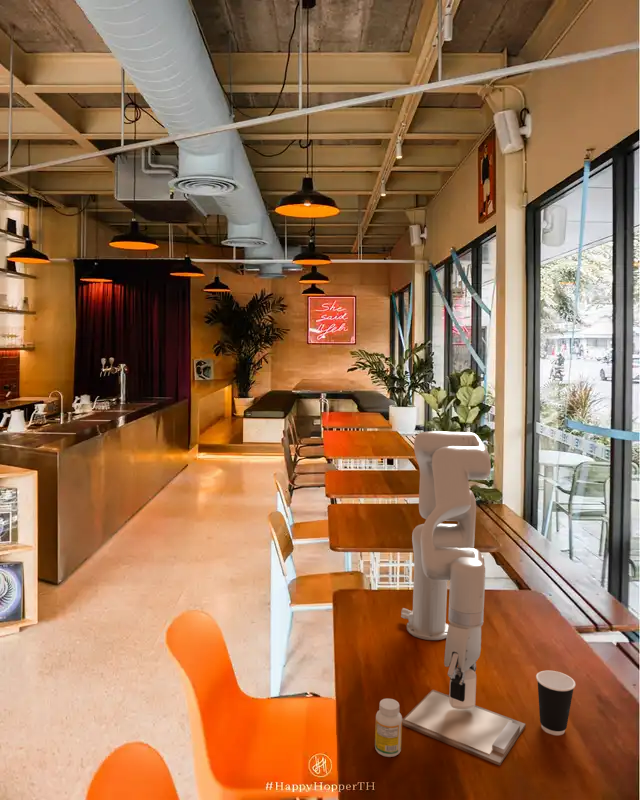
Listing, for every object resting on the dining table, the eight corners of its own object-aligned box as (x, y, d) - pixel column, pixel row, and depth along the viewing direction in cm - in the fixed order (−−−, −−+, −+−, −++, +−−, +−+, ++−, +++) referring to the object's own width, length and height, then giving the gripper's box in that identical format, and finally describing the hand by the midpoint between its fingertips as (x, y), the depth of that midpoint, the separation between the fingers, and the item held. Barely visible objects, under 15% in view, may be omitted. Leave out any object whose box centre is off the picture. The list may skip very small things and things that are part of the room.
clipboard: (400, 724, 133) (400, 717, 133) (432, 691, 146) (432, 685, 146) (499, 765, 120) (500, 757, 120) (525, 726, 133) (525, 719, 133)
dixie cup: (580, 737, 130) (583, 687, 129) (547, 742, 128) (550, 691, 127) (558, 715, 138) (560, 668, 137) (526, 719, 136) (528, 672, 135)
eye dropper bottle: (473, 713, 134) (475, 660, 133) (447, 707, 136) (449, 655, 136) (476, 703, 138) (478, 651, 137) (451, 697, 141) (453, 646, 140)
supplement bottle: (391, 761, 121) (393, 715, 120) (369, 749, 124) (370, 704, 124) (406, 748, 125) (407, 703, 124) (384, 737, 128) (385, 693, 128)
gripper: (465, 598, 145) (462, 672, 146) (433, 623, 131) (430, 704, 133) (496, 606, 140) (492, 682, 142) (466, 633, 127) (462, 717, 128)
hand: (462, 692), depth 137 cm, fingers closed on eye dropper bottle, 4 cm apart
